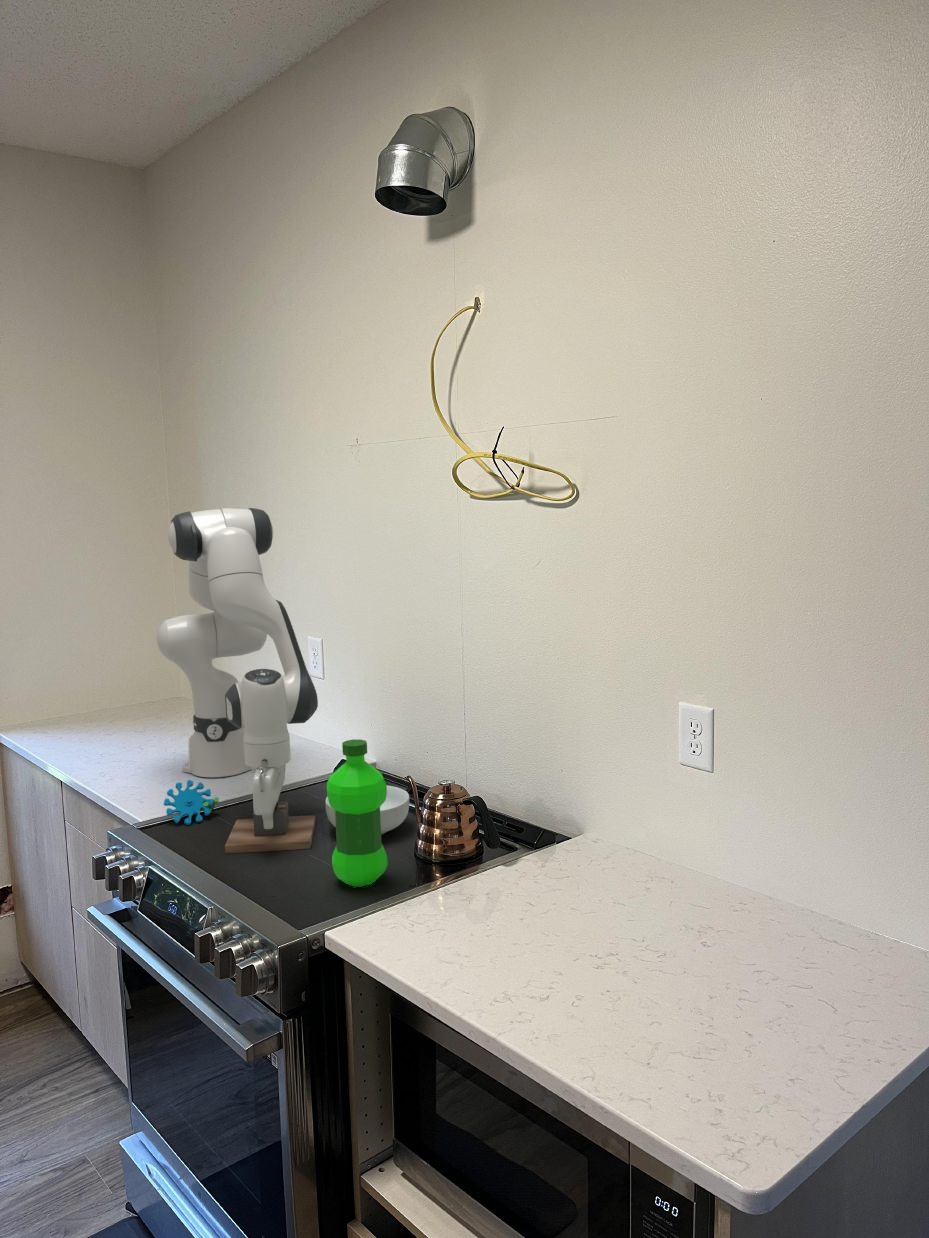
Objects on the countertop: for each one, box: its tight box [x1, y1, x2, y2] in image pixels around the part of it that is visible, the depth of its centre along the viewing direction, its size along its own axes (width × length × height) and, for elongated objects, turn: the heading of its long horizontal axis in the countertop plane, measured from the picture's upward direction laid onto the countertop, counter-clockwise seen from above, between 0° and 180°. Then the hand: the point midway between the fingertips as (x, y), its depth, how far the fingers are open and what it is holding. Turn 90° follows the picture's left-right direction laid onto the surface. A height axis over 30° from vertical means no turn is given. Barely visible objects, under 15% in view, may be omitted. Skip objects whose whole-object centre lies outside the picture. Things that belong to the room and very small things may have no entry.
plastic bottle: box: [325, 739, 388, 886], centre depth 159 cm, size 10×10×25 cm
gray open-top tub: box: [252, 801, 289, 836], centre depth 181 cm, size 6×6×5 cm
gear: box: [163, 779, 220, 826], centre depth 194 cm, size 11×6×10 cm
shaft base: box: [224, 815, 317, 854], centre depth 182 cm, size 14×16×2 cm
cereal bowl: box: [325, 784, 410, 836], centre depth 184 cm, size 17×17×7 cm
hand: (271, 820), depth 182 cm, fingers closed on gray open-top tub, 6 cm apart
